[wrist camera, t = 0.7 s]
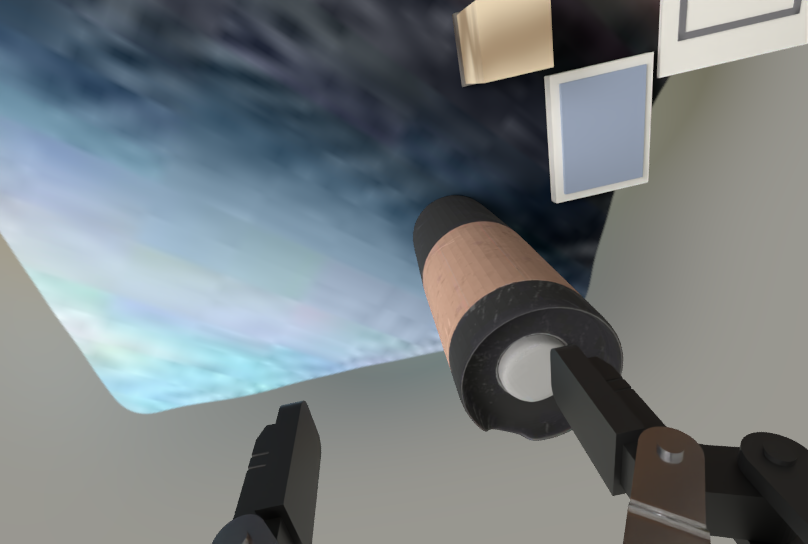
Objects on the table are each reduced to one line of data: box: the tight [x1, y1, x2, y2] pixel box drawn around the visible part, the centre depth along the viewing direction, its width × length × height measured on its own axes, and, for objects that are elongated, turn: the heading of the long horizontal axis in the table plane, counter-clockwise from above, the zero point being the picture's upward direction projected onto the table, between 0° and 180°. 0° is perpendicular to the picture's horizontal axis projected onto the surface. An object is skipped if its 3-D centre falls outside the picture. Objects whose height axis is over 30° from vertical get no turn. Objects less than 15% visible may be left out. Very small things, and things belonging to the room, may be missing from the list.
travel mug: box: [413, 195, 623, 441], centre depth 27 cm, size 8×8×20 cm
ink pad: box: [544, 52, 654, 204], centre depth 33 cm, size 10×8×1 cm
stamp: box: [452, 0, 554, 87], centre depth 28 cm, size 5×5×6 cm
